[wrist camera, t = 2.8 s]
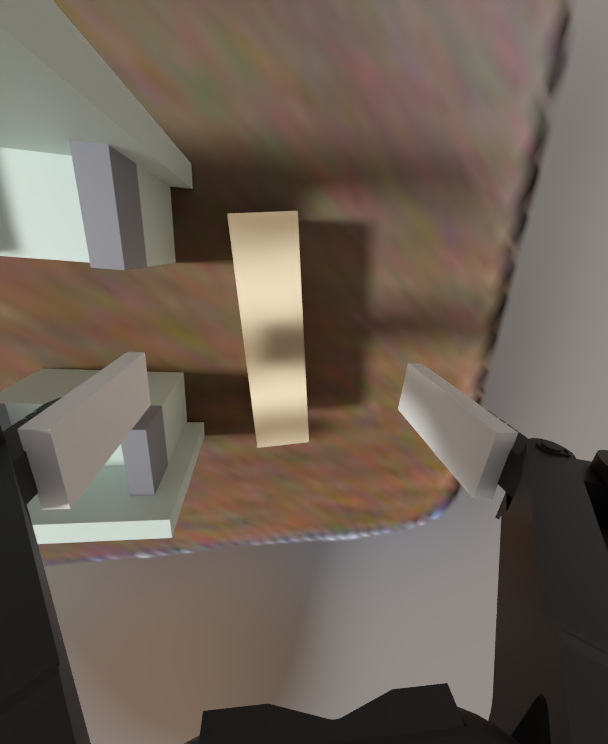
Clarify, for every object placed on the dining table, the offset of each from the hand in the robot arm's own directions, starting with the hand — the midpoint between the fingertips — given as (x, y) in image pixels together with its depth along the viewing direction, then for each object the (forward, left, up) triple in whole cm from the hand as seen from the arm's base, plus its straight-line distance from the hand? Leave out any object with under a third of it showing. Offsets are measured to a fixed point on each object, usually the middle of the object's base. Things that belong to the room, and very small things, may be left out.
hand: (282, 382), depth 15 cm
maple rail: (0, 0, -12) cm, 12 cm away
